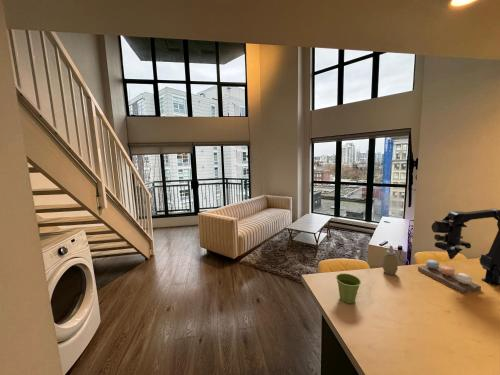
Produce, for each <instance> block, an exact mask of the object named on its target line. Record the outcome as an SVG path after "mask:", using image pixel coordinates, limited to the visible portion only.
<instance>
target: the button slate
mask: <svg viewBox="0 0 500 375" xmlns="http://www.w3.org/2000/svg"><path fill="white" fill-rule="evenodd" d="M425 266H428V267H430V268H431V269H432V270H434V269H438V268H439V267H440V262H439V261H438V260H435V259H434V260H433V259H426V265H425Z"/></svg>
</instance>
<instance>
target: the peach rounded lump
mask: <svg viewBox="0 0 500 375" xmlns="http://www.w3.org/2000/svg"><path fill="white" fill-rule="evenodd" d="M440 268H441V271H440V272H441V273H442V274H444V275H445V276H446V277H449V276H454V274H455V273H456V270H455V269H454V268H453V267H450V266H446V265H442V266H440Z"/></svg>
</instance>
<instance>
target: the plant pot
mask: <svg viewBox="0 0 500 375" xmlns="http://www.w3.org/2000/svg"><path fill="white" fill-rule="evenodd" d="M335 279H336V281H337V287H338V294H339V298H340V300H341V301H342V302H343V303H346V304H354V303H355V302H356V299H357V295H358V290H359V288H360V286H361V284H362V280H361V279H360V278H359V277H357V276H355V275H353V274H351V273H343V272H342V273H339V274H337V275H336V276H335Z"/></svg>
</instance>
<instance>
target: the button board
mask: <svg viewBox="0 0 500 375" xmlns="http://www.w3.org/2000/svg"><path fill="white" fill-rule="evenodd" d="M417 271H419V272H420V273H423V274H424V275H426V276H428V277H430V278H432V279H434V280H436V281H438V282H440V283H442V284H444V285H446V286H447V287H449V288H451V289H453V290H455V291H457V292H459V293H461V294H469V293H475V292H481V290H482V286H481V285H479V284H477V283H474V282H473V281H472V284H466V285H463V284H462V283H461V282H459V281H457V274H455V273H454V276H449V277H446V276H445V275H444V274H442V273H441V272H440V271H441V266H439V268H438V269H434V270H432V269H431V268H430V267H428V266H426V265H421V266H418V267H417Z"/></svg>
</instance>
